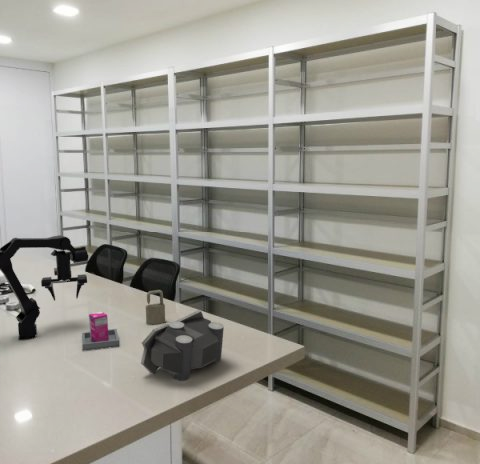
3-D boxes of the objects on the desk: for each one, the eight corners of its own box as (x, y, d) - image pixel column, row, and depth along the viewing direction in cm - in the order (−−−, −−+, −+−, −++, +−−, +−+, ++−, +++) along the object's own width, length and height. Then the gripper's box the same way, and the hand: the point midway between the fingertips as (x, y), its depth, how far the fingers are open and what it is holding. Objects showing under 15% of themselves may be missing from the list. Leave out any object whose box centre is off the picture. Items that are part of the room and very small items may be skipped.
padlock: (145, 322, 229) (144, 290, 227) (163, 320, 233) (162, 288, 230) (148, 325, 226) (147, 292, 223) (165, 322, 229) (164, 290, 227)
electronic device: (132, 371, 177) (191, 343, 200) (174, 396, 165) (232, 363, 188) (133, 324, 172) (193, 301, 196) (177, 346, 160) (236, 319, 183)
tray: (82, 350, 197) (82, 344, 197) (82, 338, 210) (81, 332, 210) (119, 346, 201) (119, 340, 201) (116, 334, 214) (116, 328, 214)
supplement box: (90, 340, 206) (88, 313, 204) (103, 337, 210) (102, 310, 208) (95, 344, 201) (93, 317, 200) (109, 341, 205) (108, 314, 203)
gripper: (85, 259, 230) (87, 292, 232) (41, 262, 224) (44, 296, 226) (86, 264, 219) (88, 299, 221) (40, 267, 213) (42, 303, 216)
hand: (65, 299), depth 222 cm, fingers open, 9 cm apart
